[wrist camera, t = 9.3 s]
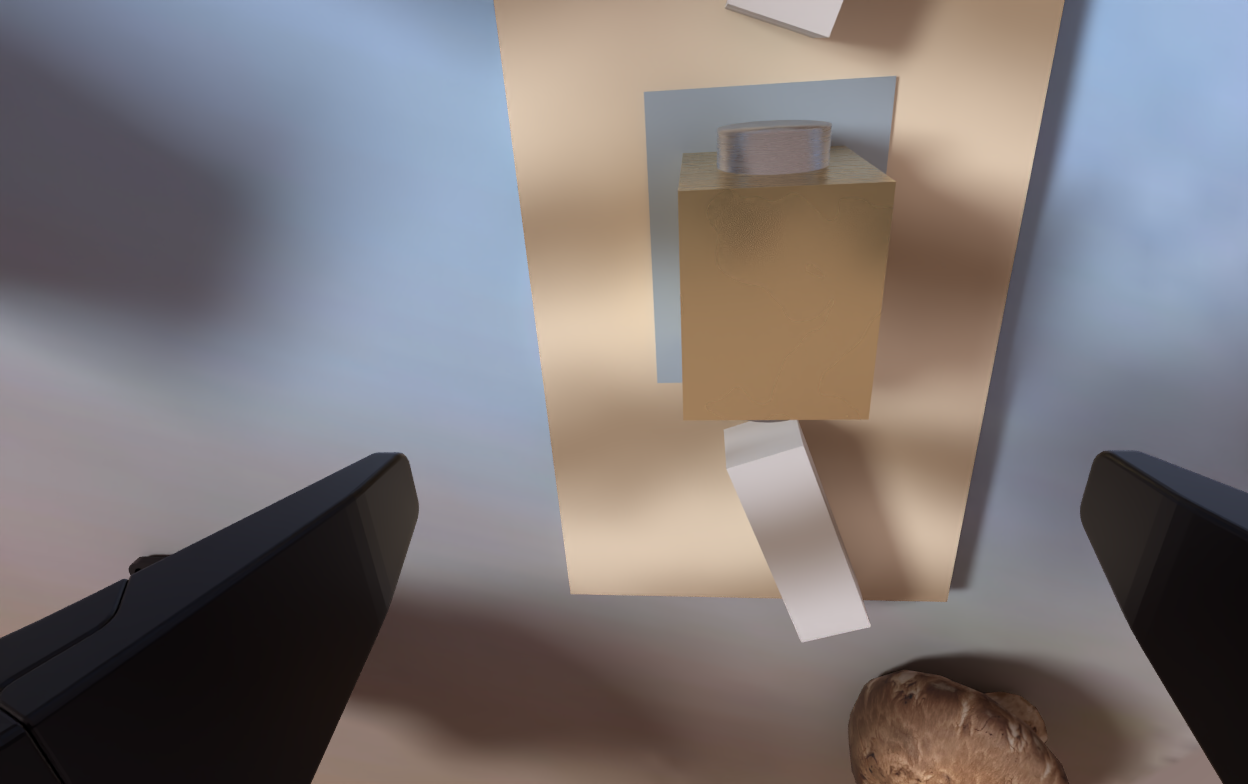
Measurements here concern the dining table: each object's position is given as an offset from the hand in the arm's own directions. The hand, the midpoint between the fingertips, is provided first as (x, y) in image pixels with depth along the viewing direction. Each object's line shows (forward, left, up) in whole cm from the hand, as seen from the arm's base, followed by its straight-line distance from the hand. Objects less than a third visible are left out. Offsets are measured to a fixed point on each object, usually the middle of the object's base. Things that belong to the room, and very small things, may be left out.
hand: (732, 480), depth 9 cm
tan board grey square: (0, -1, -12) cm, 12 cm away
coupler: (0, -1, -11) cm, 11 cm away
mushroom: (-19, -8, -12) cm, 24 cm away
